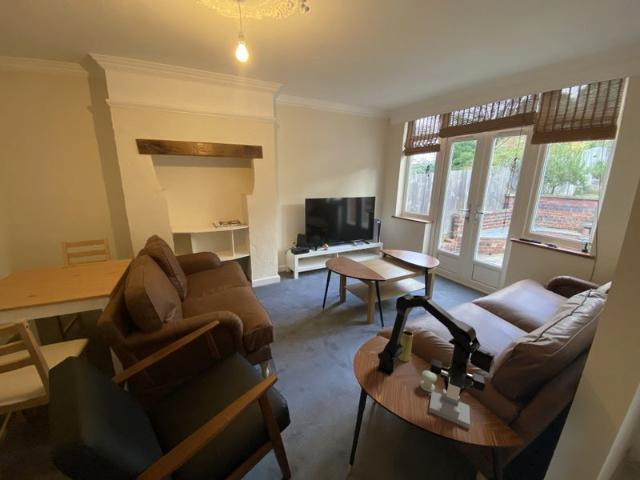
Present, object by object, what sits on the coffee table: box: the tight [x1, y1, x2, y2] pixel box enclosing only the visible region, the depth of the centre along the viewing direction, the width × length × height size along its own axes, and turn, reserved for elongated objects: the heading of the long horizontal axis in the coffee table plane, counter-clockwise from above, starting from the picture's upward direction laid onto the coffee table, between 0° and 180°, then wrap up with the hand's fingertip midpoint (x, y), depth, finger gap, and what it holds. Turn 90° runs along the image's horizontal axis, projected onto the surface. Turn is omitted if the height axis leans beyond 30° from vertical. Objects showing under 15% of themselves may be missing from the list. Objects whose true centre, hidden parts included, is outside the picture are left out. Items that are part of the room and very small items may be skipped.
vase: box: [397, 329, 414, 363], centre depth 134 cm, size 6×6×14 cm
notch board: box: [428, 388, 471, 430], centre depth 104 cm, size 14×10×5 cm
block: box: [446, 376, 460, 401], centre depth 102 cm, size 4×4×6 cm
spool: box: [419, 370, 438, 393], centre depth 116 cm, size 6×6×6 cm
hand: (452, 392), depth 103 cm, fingers closed on block, 4 cm apart
